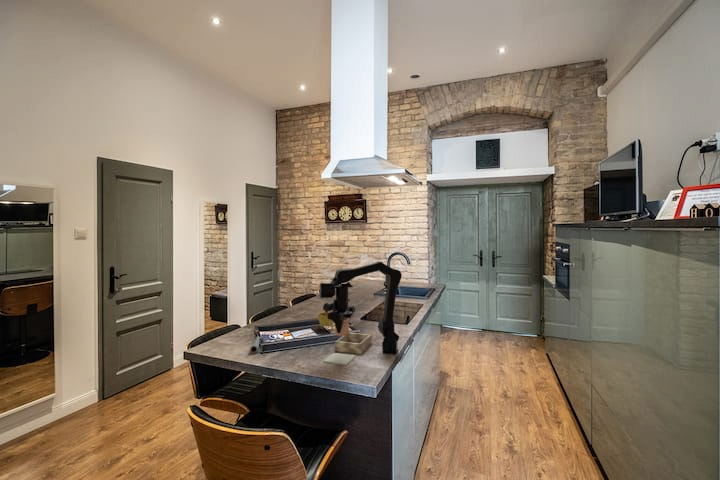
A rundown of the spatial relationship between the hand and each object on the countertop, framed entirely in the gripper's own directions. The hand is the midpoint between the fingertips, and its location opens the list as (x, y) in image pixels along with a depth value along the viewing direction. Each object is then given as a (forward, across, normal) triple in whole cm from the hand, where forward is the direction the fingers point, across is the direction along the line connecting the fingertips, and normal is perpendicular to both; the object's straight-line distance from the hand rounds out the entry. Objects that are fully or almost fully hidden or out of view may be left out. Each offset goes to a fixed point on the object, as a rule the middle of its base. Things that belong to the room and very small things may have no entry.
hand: (341, 331), depth 155 cm
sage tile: (+12, +3, 0) cm, 12 cm away
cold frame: (+12, -15, 0) cm, 19 cm away
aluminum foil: (+13, -3, -47) cm, 48 cm away
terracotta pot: (+1, 0, 0) cm, 1 cm away
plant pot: (+12, -38, -26) cm, 48 cm away
